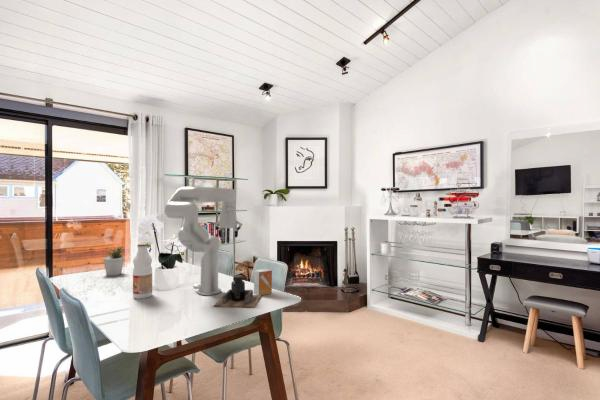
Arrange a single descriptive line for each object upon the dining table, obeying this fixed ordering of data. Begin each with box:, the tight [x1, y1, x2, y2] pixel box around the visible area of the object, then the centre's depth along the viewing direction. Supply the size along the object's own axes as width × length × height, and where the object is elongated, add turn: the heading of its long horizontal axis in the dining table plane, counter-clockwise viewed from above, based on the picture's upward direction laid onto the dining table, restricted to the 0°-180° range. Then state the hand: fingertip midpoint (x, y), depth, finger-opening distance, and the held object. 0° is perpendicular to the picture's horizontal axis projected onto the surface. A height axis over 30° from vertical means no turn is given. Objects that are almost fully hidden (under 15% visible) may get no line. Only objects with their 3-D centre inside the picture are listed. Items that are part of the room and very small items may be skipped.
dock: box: [212, 289, 262, 309], centre depth 175 cm, size 20×18×4 cm
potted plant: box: [102, 244, 127, 277], centre depth 233 cm, size 13×14×20 cm
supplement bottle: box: [230, 274, 246, 301], centre depth 175 cm, size 7×7×12 cm
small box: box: [253, 268, 273, 296], centre depth 189 cm, size 8×6×13 cm
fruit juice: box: [132, 243, 153, 299], centre depth 183 cm, size 9×9×28 cm
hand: (228, 237), depth 210 cm, fingers open, 9 cm apart
